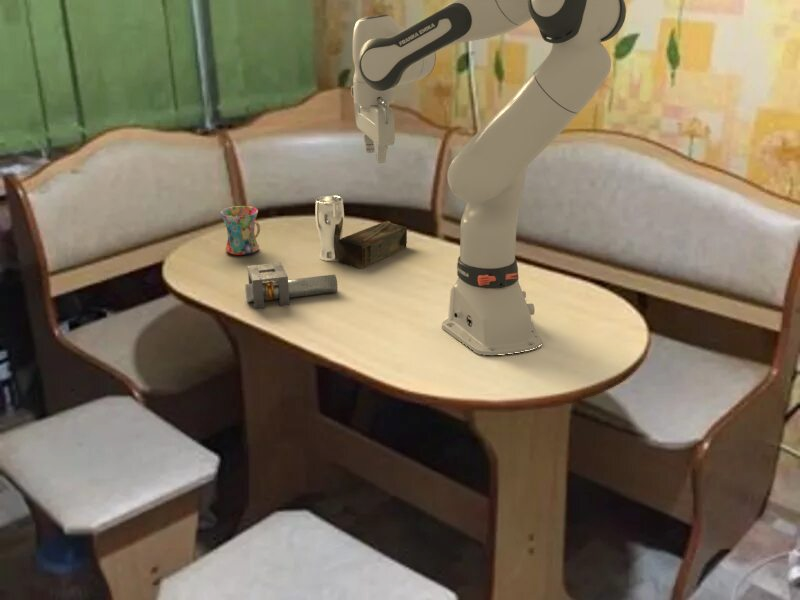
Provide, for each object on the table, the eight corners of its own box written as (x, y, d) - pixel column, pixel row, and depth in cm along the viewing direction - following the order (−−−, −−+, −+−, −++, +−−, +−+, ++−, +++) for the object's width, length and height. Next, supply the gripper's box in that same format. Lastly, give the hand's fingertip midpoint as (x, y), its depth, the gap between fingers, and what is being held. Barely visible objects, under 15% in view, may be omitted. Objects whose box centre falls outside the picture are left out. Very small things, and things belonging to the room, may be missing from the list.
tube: (333, 289, 202) (333, 272, 201) (337, 294, 198) (337, 277, 197) (245, 299, 197) (244, 281, 196) (248, 305, 193) (246, 287, 192)
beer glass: (347, 252, 224) (345, 195, 218) (343, 262, 217) (341, 203, 211) (320, 252, 224) (317, 194, 218) (315, 261, 218) (312, 203, 212)
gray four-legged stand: (289, 305, 193) (287, 276, 191) (255, 309, 192) (252, 280, 189) (282, 290, 201) (280, 262, 199) (249, 293, 199) (247, 266, 197)
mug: (216, 252, 225) (212, 212, 221) (245, 242, 231) (241, 203, 227) (246, 262, 218) (243, 221, 213) (275, 253, 224) (272, 212, 220)
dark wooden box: (408, 248, 227) (408, 224, 224) (361, 270, 213) (361, 245, 210) (384, 242, 231) (383, 218, 229) (336, 264, 217) (335, 238, 215)
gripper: (402, 101, 181) (402, 167, 187) (376, 85, 199) (377, 146, 205) (372, 103, 180) (373, 169, 185) (349, 86, 198) (350, 147, 203)
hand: (375, 157), depth 195 cm, fingers open, 8 cm apart
